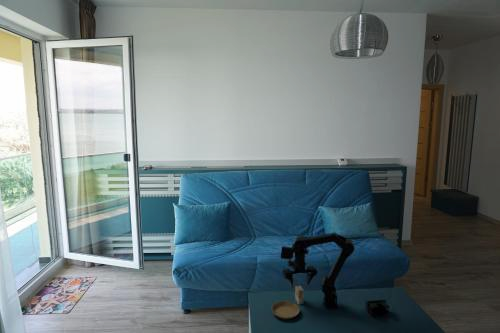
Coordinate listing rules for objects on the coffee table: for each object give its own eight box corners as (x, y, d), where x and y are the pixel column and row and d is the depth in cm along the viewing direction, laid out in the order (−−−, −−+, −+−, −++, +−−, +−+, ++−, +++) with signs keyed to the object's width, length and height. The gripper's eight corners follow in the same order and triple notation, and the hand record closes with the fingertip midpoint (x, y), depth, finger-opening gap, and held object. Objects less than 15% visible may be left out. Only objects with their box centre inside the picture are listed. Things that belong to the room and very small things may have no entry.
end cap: (382, 308, 178) (383, 297, 177) (389, 316, 172) (390, 304, 170) (364, 310, 178) (365, 298, 176) (370, 317, 171) (371, 305, 169)
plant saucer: (298, 323, 167) (298, 318, 166) (269, 320, 170) (269, 315, 169) (300, 307, 181) (300, 302, 181) (273, 304, 184) (273, 299, 184)
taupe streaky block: (299, 298, 189) (300, 285, 187) (303, 303, 184) (303, 290, 183) (295, 299, 188) (295, 286, 187) (298, 304, 183) (298, 291, 182)
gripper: (309, 252, 192) (308, 277, 194) (278, 256, 187) (278, 282, 190) (318, 260, 181) (317, 286, 184) (285, 264, 177) (285, 291, 179)
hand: (299, 286), depth 184 cm, fingers open, 9 cm apart
